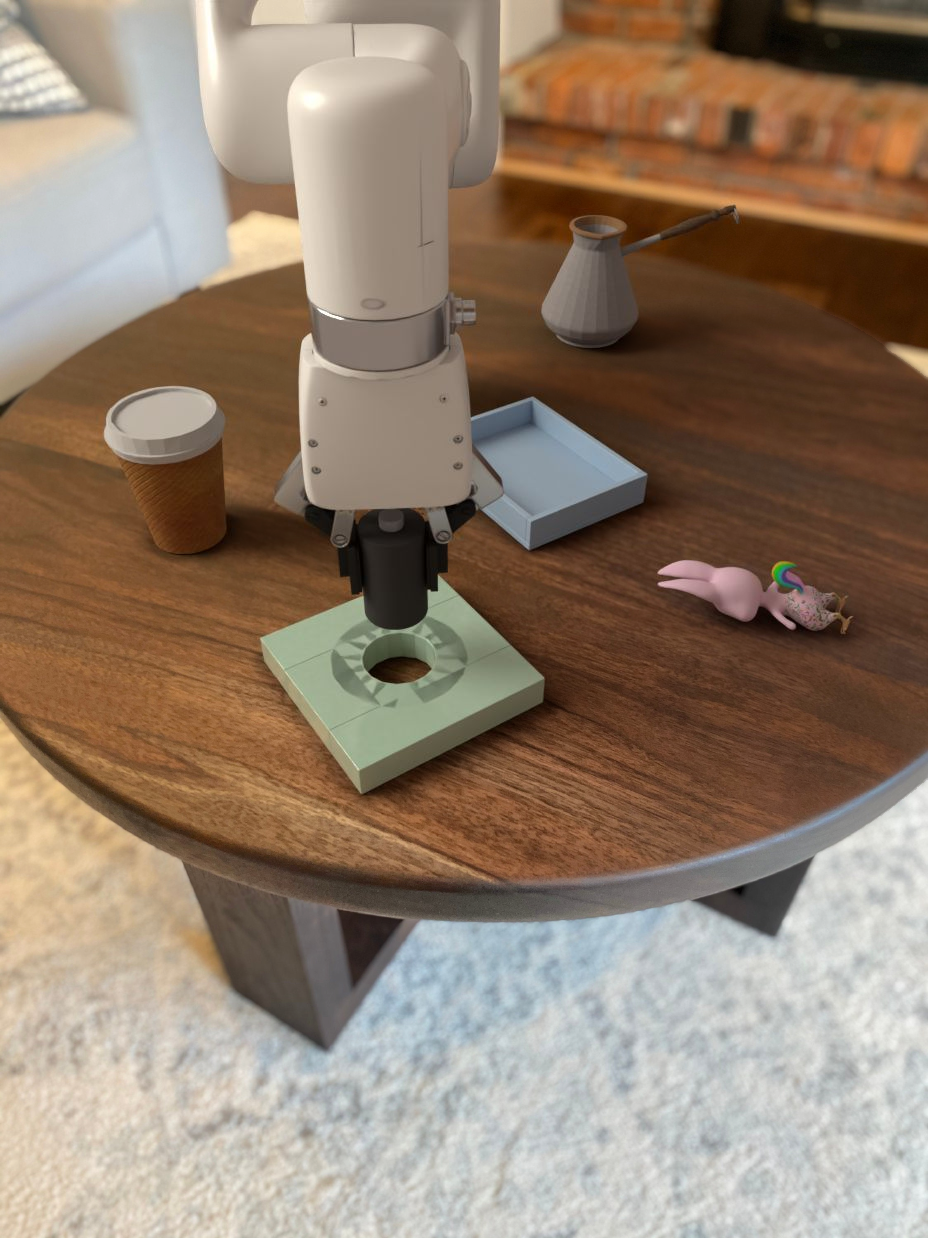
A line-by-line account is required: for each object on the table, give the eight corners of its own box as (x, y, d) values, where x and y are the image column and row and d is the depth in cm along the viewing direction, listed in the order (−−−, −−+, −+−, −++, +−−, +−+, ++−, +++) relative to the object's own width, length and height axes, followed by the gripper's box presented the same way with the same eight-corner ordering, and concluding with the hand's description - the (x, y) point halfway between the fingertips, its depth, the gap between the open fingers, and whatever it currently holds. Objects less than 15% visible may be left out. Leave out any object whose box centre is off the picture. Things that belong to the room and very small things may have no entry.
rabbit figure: (827, 610, 78) (651, 569, 78) (860, 554, 74) (674, 512, 74) (839, 662, 73) (651, 619, 73) (874, 606, 69) (676, 561, 69)
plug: (353, 603, 66) (343, 509, 60) (407, 580, 67) (402, 487, 62) (385, 639, 63) (378, 544, 57) (440, 614, 65) (438, 520, 59)
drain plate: (264, 661, 71) (259, 637, 69) (431, 591, 77) (431, 567, 76) (361, 795, 62) (358, 770, 60) (543, 702, 68) (545, 678, 66)
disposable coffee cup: (191, 580, 78) (161, 455, 70) (111, 542, 82) (73, 420, 74) (267, 523, 84) (247, 402, 76) (189, 490, 88) (162, 372, 80)
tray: (423, 461, 92) (422, 433, 90) (531, 423, 97) (533, 396, 95) (529, 550, 81) (530, 521, 79) (643, 502, 87) (648, 474, 85)
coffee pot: (543, 355, 109) (552, 222, 99) (536, 313, 117) (544, 187, 107) (726, 355, 109) (754, 223, 99) (706, 313, 118) (730, 187, 108)
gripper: (526, 291, 54) (513, 541, 67) (231, 297, 53) (273, 550, 66) (543, 351, 49) (525, 612, 61) (214, 360, 48) (263, 623, 60)
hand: (394, 577), depth 63 cm, fingers closed on plug, 4 cm apart
